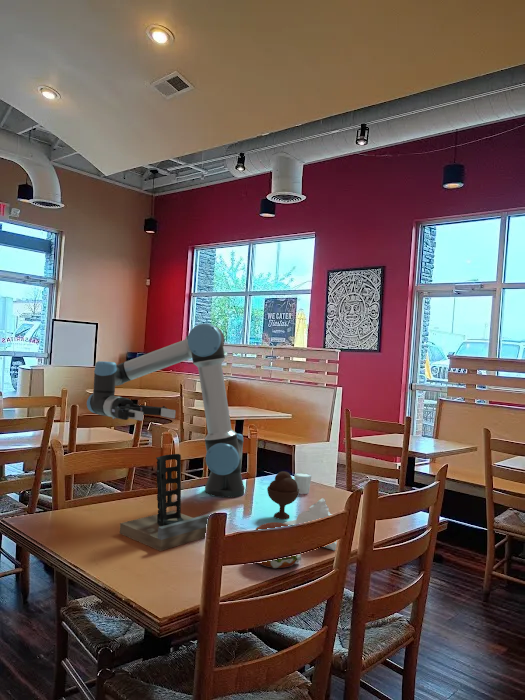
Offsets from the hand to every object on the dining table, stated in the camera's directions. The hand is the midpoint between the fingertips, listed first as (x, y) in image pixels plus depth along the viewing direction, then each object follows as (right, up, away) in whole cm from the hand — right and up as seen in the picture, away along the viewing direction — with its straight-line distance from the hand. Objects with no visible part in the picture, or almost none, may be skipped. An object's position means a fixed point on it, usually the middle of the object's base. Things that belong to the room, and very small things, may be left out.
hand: (158, 415), depth 182 cm
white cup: (+50, -36, +40) cm, 73 cm away
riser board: (+6, -32, -20) cm, 38 cm away
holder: (+6, -30, -20) cm, 36 cm away
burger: (+37, -35, -35) cm, 62 cm away
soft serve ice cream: (+49, -36, -19) cm, 64 cm away
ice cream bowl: (+40, -35, +5) cm, 54 cm away
